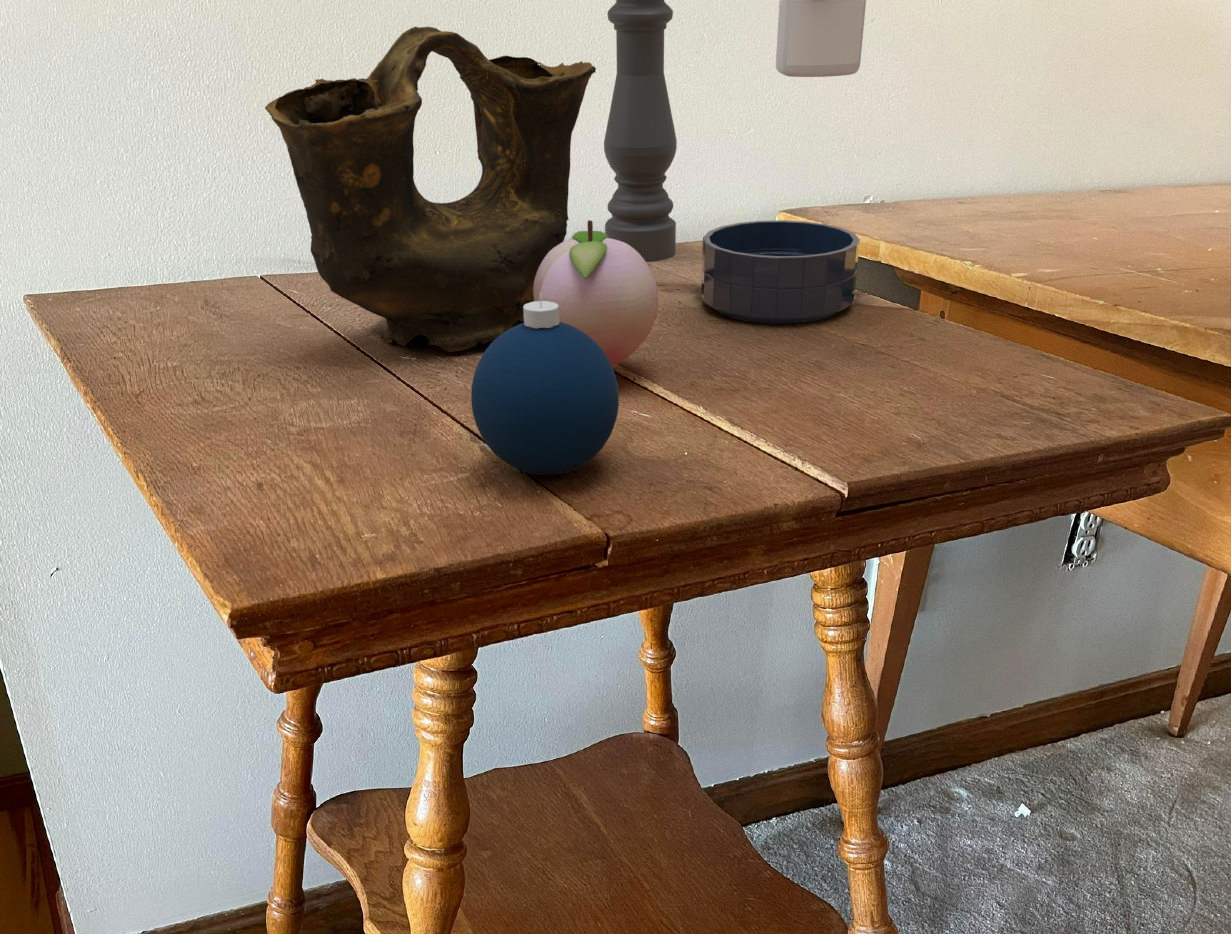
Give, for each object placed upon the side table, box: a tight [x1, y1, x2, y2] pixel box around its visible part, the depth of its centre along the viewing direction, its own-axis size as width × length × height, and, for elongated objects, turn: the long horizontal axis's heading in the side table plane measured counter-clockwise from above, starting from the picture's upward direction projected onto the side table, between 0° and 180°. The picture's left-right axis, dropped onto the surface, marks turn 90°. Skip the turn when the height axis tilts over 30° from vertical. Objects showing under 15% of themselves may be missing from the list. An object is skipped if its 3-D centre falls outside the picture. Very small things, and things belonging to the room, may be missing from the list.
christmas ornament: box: [470, 292, 620, 476], centre depth 71 cm, size 8×8×10 cm
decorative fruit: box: [533, 219, 659, 368], centre depth 85 cm, size 9×8×10 cm
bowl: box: [701, 219, 861, 325], centre depth 100 cm, size 12×12×5 cm
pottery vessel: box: [264, 26, 597, 353], centre depth 90 cm, size 25×11×20 cm, turn 131°
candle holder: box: [603, 0, 678, 263], centre depth 104 cm, size 6×6×25 cm
